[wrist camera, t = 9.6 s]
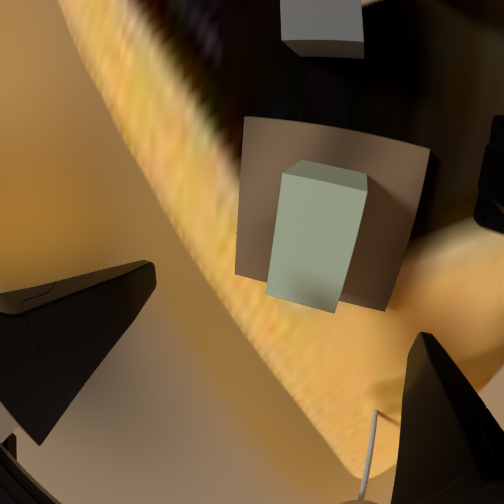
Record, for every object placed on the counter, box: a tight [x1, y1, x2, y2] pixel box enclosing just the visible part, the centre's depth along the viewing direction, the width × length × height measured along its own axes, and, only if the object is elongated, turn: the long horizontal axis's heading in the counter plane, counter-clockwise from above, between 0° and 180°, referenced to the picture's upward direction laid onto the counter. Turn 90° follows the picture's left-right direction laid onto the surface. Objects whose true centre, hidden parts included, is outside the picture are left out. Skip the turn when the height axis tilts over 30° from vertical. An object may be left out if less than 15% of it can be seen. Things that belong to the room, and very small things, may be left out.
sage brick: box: [266, 160, 367, 313], centre depth 15 cm, size 4×6×4 cm, turn 174°
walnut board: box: [235, 116, 430, 312], centre depth 17 cm, size 10×10×1 cm
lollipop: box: [339, 410, 378, 504], centre depth 16 cm, size 6×6×15 cm
